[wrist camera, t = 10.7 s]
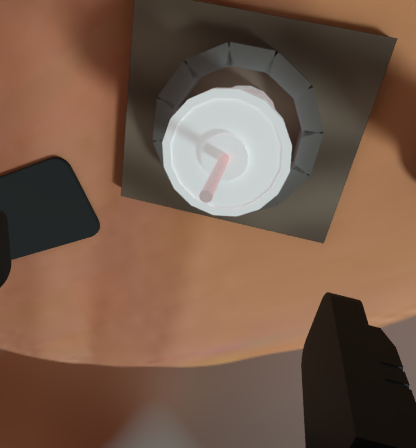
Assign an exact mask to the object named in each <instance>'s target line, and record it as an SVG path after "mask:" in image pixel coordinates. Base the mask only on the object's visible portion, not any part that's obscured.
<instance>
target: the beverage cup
mask: <svg viewBox="0 0 416 448" xmlns="http://www.w3.org/2000/svg"><path fill="white" fill-rule="evenodd" d="M162 147H163V163H164V168H165V171H166V173H167V175H168V177H169V179H170V181H171V183H172V185H173V188H174V189H175V190H176V191H177V192H178V193H179V194H180V195H181V196H182V197H183V198H184V199H185V200H186V201H187V202H188V203H189V204H190V205H191V206H194V207H196V208H198V209H200V210H203V211H205V212H207V213H209V214H212V215H220V216H236V217H237V216H240V215H243V214H246V213H249V212H253V211H256V210H259V209H260V208H262V207H263V206H264V205H265V204H267V203H268V202H269V201H270V200H272V199H273V198H274V197H275V196H276V195H278V193H279V192H280V190H281V188H282V186H283V184H284V182H285V180H286V178H287V177H288V175H289V173H290V164H291V153H292V144H291V141H290V138H289V135H288V132H287V129H286V126H285V123H284V120H283V118H282V117H281V116H280V114H279V113H278V112H277V111H276V110H275V107H274V104H273V101H272V100H271V99H270V98H269V97H268V96H267V95H266V94H265V93H264V91H261V90H259V89H257V88H255V87H253V86H235V87H232V88H213V89H210V90H208V91H206V92H204V93H201V94H199V95H197V96H194V97H192V98H190V99H188V100H187V101H186V102H185V103H184V104H183V105H182V106H181V108H180V109H179V110H178V111H177V112H176V113H175V114H174V115H173V116H172V117H171V118H170V121H169V124H168V127H167V130H166V133H165V136H164V139H163V142H162Z"/></svg>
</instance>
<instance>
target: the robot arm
mask: <svg viewBox="0 0 416 448" xmlns="http://www.w3.org/2000/svg"><path fill="white" fill-rule="evenodd" d="M10 269H11V253H10V242H9V230H8V220H7V216H6V214H5V213H4V212H3V211H1V210H0V287H1V286H2V285H3V284H4V283H5V281H6V280H7V278H8V276H9V273H10ZM301 368H302V387H303V406H304V424H305V442H306V448H416V402H415V399H414V396H413V393H412V391H411V390H410V389H409V382H408V380H407V377H406V374H405V372H403V366H402V363H401V360H400V357H399V355H398V352H397V350H396V347H395V346H394V344H393V343H392V342H391V341H390V340H389V338H388V337H387V336H386V335H385V333H384V332H383V331H382V330H381V328H378V327H374V326H370V325H368V321H367V318H366V314H365V311H364V308H363V304H362V302H361V301H360V300H357V299H353V298H349V297H345V296H341V295H337V294H333V293H329V292H327V293H326V294H325V295H324V296H323V298H322V301H321V303H320V306H319V308H318V311H317V313H316V316H315V318H314V321H313V323H312V326H311V328H310V331H309V333H308V336H307V338H306V341H305V344H304V349H303V354H302V363H301Z"/></svg>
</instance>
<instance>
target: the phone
mask: <svg viewBox="0 0 416 448" xmlns="http://www.w3.org/2000/svg"><path fill="white" fill-rule="evenodd" d="M0 210H1V211H3V212H4V213H5V214H6V216H7V220H8V230H9V242H10V253H11V260H12V259H16V258H19V257H23V256H26V255H30V254H33V253H36V252H40V251H43V250H47V249H50V248H54V247H57V246H61V245H64V244H68V243H71V242H75V241H78V240H82V239H85V238H88V237H91V236H94V235H95V234H96V233H97V232H98V231H99V229H100V223H99V220H98V218H97V216H96V214H95V212H94V210H93V208H92V206H91V204H90V202H89V200H88V198H87V196H86V194H85V192H84V190H83V188H82V186H81V185H80V183H79V181H78V179H77V177H76V175H75V173H74V171H73V169H72V167H71V166H70V164H69V163H68V162H67V161H66V160H65V159H63V158H60V157H54V158H50V159H47V160H45V161H42V162H39V163H37V164H34V165H31V166H29V167H26V168H23V169H21V170H18V171H15V172H12V173H10V174H7V175H4V176H2V177H0Z"/></svg>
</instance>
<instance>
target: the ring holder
mask: <svg viewBox="0 0 416 448" xmlns="http://www.w3.org/2000/svg"><path fill="white" fill-rule="evenodd" d="M396 41H397V38H392V37H386V36H381V35H376V34H370V33H365V32H360V31H354V30H349V29H344V28H338V27H333V26H328V25H322V24H317V23H312V22H306V21H301V20H295V19H290V18H285V17H279V16H274V15H269V14H263V13H258V12H253V11H247V10H242V9H237V8H231V7H226V6H221V5H215V4H210V3H205V2H199V1H194V0H134V13H133V28H132V42H131V56H130V71H129V85H128V99H127V114H126V128H125V142H124V157H123V171H122V185H121V196H124V197H128V198H132V199H137V200H141V201H145V202H149V203H154V204H158V205H162V206H166V207H171V208H175V209H179V210H184V211H188V212H192V213H196V214H201V215H205V216H209V217H213V218H218V219H222V220H226V221H231V222H235V223H239V224H243V225H248V226H252V227H256V228H260V229H265V230H269V231H273V232H277V233H282V234H286V235H290V236H295V237H299V238H303V239H307V240H312V241H316V242H320V243H324V241H325V238H326V235H327V232H328V230H329V227H330V224H331V221H332V219H333V216H334V213H335V210H336V207H337V205H338V202H339V199H340V196H341V194H342V191H343V188H344V185H345V183H346V180H347V177H348V174H349V171H350V169H351V166H352V163H353V160H354V158H355V155H356V152H357V149H358V146H359V144H360V141H361V138H362V135H363V133H364V130H365V127H366V124H367V121H368V119H369V116H370V113H371V110H372V108H373V105H374V102H375V99H376V97H377V94H378V91H379V88H380V85H381V83H382V80H383V77H384V74H385V72H386V69H387V66H388V63H389V60H390V58H391V55H392V52H393V49H394V47H395V44H396ZM235 86H253V87H255V88H257V89H259V90H261V91H264V93H265V94H266V95H267V96H268V97H269V98H270V99H271V100H272V101H273V104H274V107H275V110H276V111H277V112H278V113H279V114H280V116H281V117H282V118H283V120H284V123H285V126H286V129H287V132H288V135H289V138H290V141H291V144H292V153H291V164H290V173H289V175H288V177H287V178H286V180H285V182H284V184H283V186H282V188H281V190H280V192H279V193H278V195H276V196H275V197H274V198H273V199H272V200H270V201H269V202H268V203H267V204H265V205H264V206H263V207H262V208H260V209H259V210H256V211H253V212H249V213H246V214H243V215H240V216H237V217H236V216H220V215H212V214H209V213H207V212H205V211H203V210H200V209H198V208H196V207H194V206H191V205H190V204H189V203H188V202H187V201H186V200H185V199H184V198H183V197H182V196H181V195H180V194H179V193H178V192H177V191H176V190H175V189H174V188H173V185H172V183H171V181H170V179H169V177H168V175H167V173H166V171H165V168H164V163H163V147H162V142H163V139H164V136H165V133H166V130H167V127H168V124H169V121H170V118H171V117H172V116H173V115H174V114H175V113H176V112H177V111H178V110H179V109H180V108H181V106H182V105H183V104H184V103H185V102H186V101H187V100H188V99H190V98H192V97H194V96H197V95H199V94H201V93H204V92H206V91H208V90H210V89H213V88H232V87H235Z"/></svg>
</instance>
